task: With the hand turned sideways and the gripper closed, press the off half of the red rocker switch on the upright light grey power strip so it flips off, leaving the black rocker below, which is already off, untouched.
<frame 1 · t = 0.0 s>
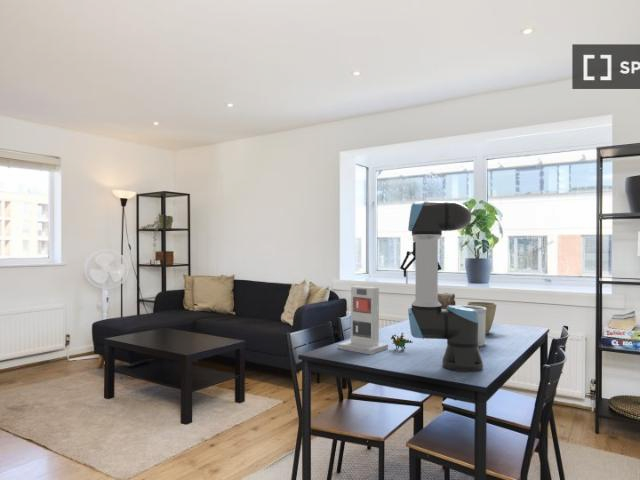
hand: (420, 283, 228), 28 cm above the table, tool pointing down, fingers open, 13 cm apart
black rocker: (361, 329, 206), point 9 cm above the table, hinge at 12.0°
figurine: (401, 351, 203), on the table
plant pot: (481, 332, 247), on the table
utensil holder: (470, 343, 219), on the table
power strip: (361, 349, 206), on the table
owl: (442, 328, 258), on the table
red rocker: (361, 305, 206), point 20 cm above the table, hinge at -12.0°
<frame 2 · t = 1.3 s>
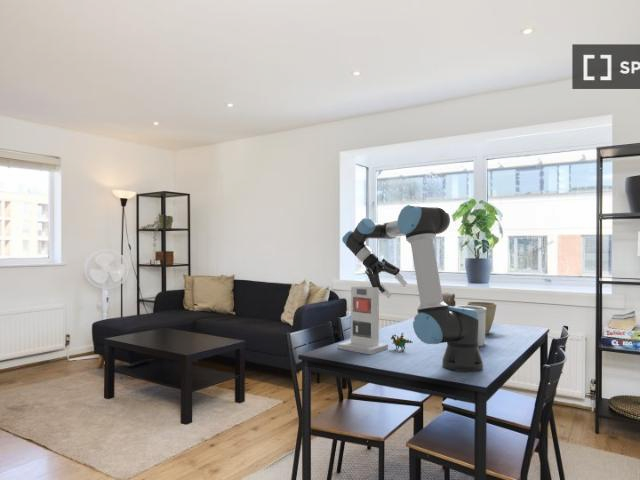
hand: (398, 290, 212), 26 cm above the table, tool tilted 45°, fingers open, 13 cm apart
nothing on the table moved.
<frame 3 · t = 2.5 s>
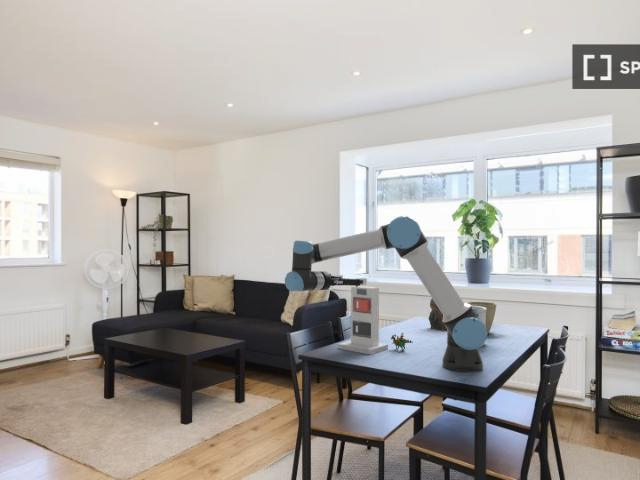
hand: (353, 279, 196), 32 cm above the table, tool horizontal, fingers open, 13 cm apart
nothing on the table moved.
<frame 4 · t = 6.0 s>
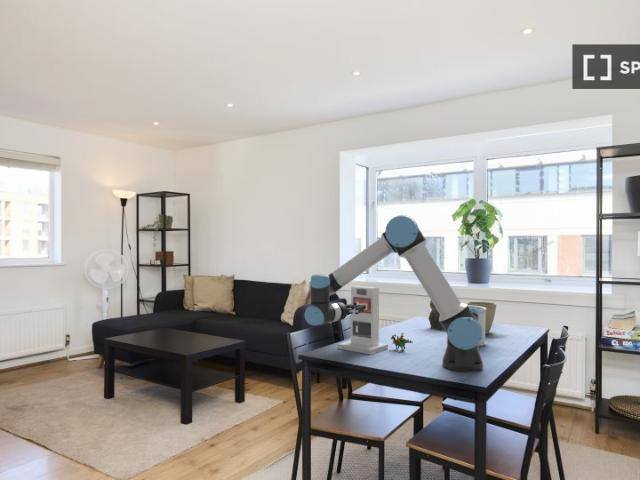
hand: (366, 306, 204), 20 cm above the table, tool horizontal, fingers closed
red rocker: (361, 305, 206), point 20 cm above the table, hinge at -11.9°, touching gripper
everything else where it was.
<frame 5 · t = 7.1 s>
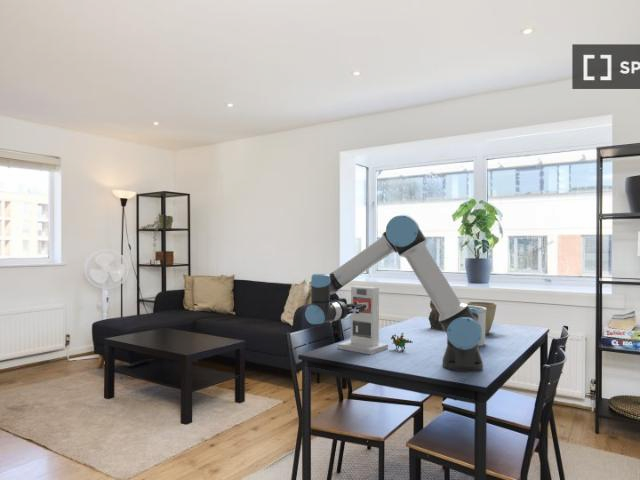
hand: (367, 305, 204), 20 cm above the table, tool horizontal, fingers closed
red rocker: (362, 305, 206), point 20 cm above the table, hinge at 21.8°
everything else where it was.
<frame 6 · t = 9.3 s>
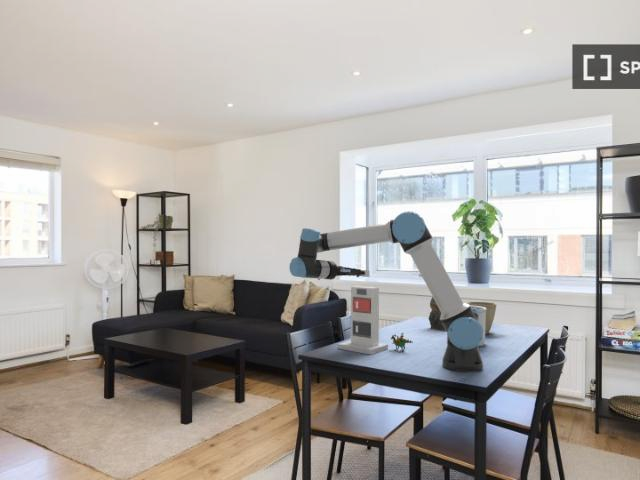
hand: (368, 273, 198), 35 cm above the table, tool horizontal, fingers closed
red rocker: (362, 305, 206), point 20 cm above the table, hinge at 12.1°
everything else where it was.
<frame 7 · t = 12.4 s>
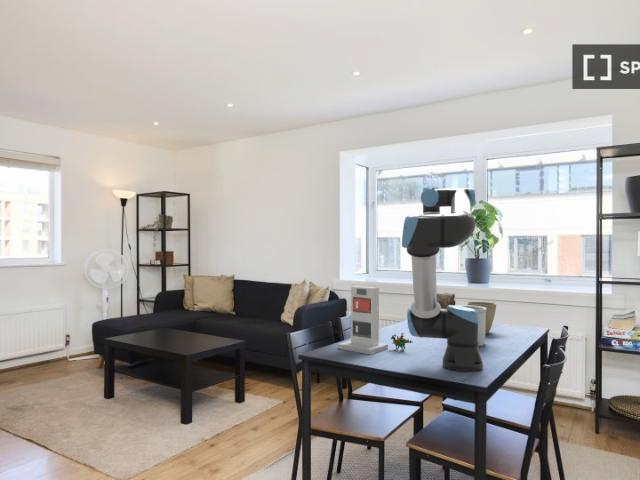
hand: (431, 274, 203), 34 cm above the table, tool pointing down, fingers closed
red rocker: (362, 305, 206), point 20 cm above the table, hinge at 9.9°
everything else where it was.
at the end: red rocker at +10° (first picture: -12°); black rocker at +12° (first picture: +12°) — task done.
